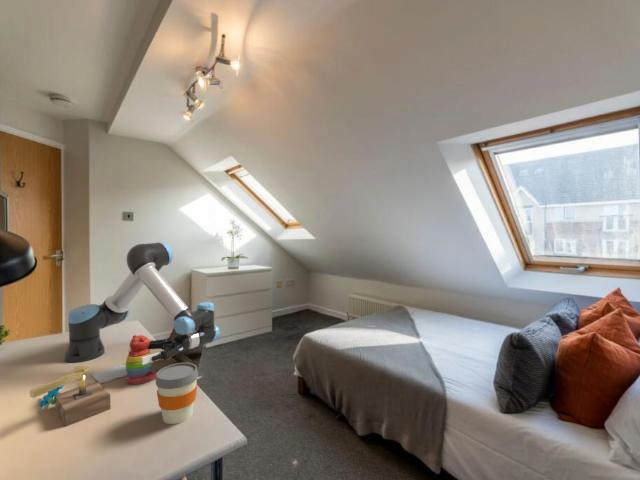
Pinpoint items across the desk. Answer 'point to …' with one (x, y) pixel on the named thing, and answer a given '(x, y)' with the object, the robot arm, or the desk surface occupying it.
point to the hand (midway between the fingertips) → (135, 356)
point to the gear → (50, 397)
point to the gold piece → (64, 382)
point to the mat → (110, 374)
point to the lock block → (82, 403)
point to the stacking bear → (139, 361)
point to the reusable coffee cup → (177, 391)
